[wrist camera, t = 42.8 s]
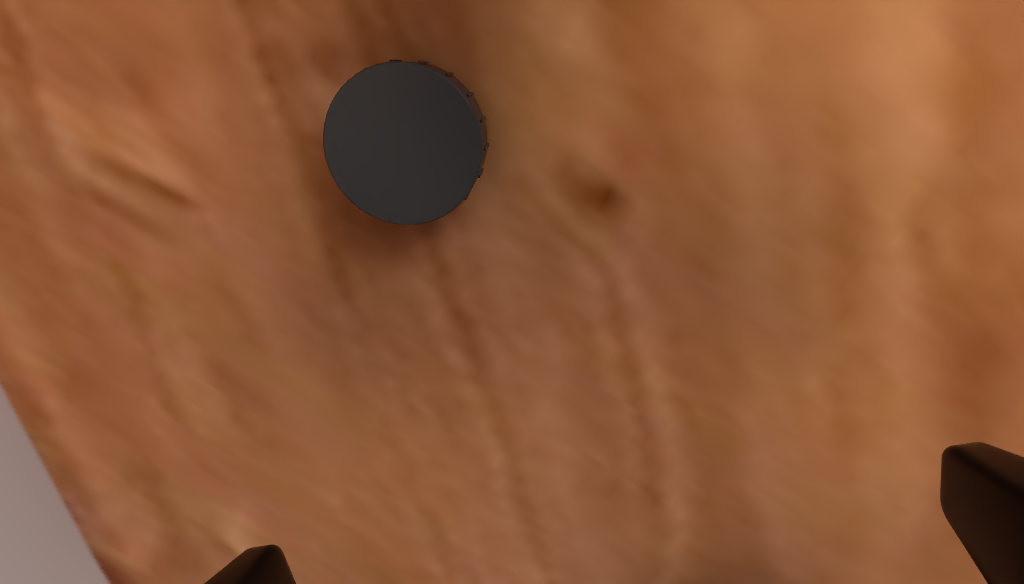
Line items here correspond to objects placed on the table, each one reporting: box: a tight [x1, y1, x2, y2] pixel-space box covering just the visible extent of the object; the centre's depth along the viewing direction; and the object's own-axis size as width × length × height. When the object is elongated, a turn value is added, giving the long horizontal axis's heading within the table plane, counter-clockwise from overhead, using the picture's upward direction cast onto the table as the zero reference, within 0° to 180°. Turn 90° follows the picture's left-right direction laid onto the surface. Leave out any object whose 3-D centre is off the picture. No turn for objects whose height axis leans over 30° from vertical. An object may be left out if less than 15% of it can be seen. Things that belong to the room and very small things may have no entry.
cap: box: [323, 60, 489, 225], centre depth 17 cm, size 4×4×2 cm
